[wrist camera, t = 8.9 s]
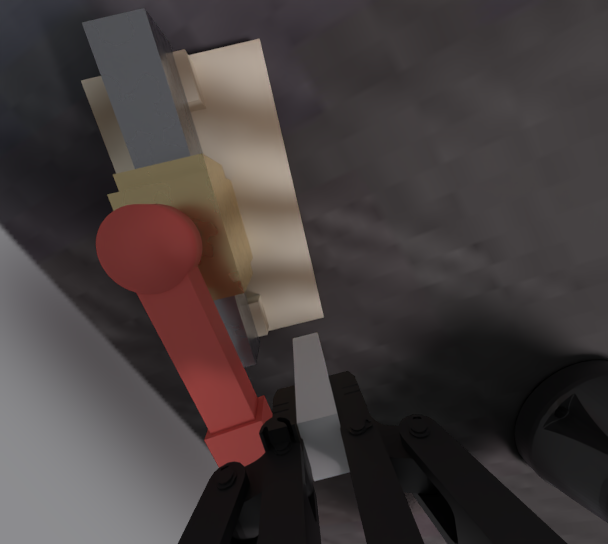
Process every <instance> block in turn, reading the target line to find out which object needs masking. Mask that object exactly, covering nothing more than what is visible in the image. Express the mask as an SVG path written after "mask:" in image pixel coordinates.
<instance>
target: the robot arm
mask: <svg viewBox="0 0 608 544" xmlns="http://www.w3.org/2000/svg"><path fill="white" fill-rule="evenodd" d="M293 355H294V375H295V385H294V386H290V387H286V388H282V389H278V391H277V392H276V394H275V396H274V398H273V414H272V418H270V419H269V420H267V421H266V422H265V423H264V424H263V425H262V427H261V429H260V432H259V435H260V438H261V441H262V444H263V447H264V450H265V453H264V454H263V455H262V456H261V457H260V458H259V459H257V460H256V461H254V462H252V463H251V464H249V465H247V466H245V467H244V466H243V465H242V464H241V463H240V462H235V461H234V462H229V463H226V464H224V465H223V466H221V467H220V468H219V469H218V470H217V471H215V472H214V474H213V475H212V476H211V478H210V479H209V482H208V484H207V486H206V488H205V490H204V492H203V494H202V496H201V498H200V500H199V502H198V504H197V506H196V508H195V510H194V512H193V514H192V516H191V518H190V520H189V522H188V524H187V526H186V528H185V530H184V532H183V534H182V536H181V538H180V540H179V543H178V544H321V536H320V526H319V517H318V508H317V498H316V494H315V490H314V487H313V479H314V481H318V480H321V479H325V478H329V477H333V476H337V475H341V474H345V473H349V472H350V474H351V478H352V482H353V487H354V491H355V495H356V499H357V504H358V508H359V512H360V516H361V521H362V525H363V529H364V533H365V538H366V542H367V544H424V542H423V539H422V537H421V534H420V532H419V529H418V527H417V525H416V522H415V520H414V517H413V515H412V512H411V510H410V507H409V505H408V502H407V500H406V497H405V495H404V492H408V493H412V494H413V496H414V497H415V499H416V500H417V501H418V503H419V504H420V506H421V507H422V508H423V510H424V511H425V513H426V514H427V515H428V517H429V518H430V520H431V521H432V522H433V524H434V525H435V527H436V528H437V530H438V531H439V532H440V534H441V535H442V537H443V538H444V539H445V541H446V542H447V544H567V543H566V542H565V541H564V540H563V539H562V538H561V537H560V536H559V535H557V534H556V533H555V532H554V531H553V530H552V529H551V528H550V527H549V526H548V525H547V524H546V523H544V522H543V521H542V520H541V519H540V518H539V517H538V516H537V515H536V514H535V513H534V512H533V511H531V510H530V509H529V508H528V507H527V506H526V505H525V504H524V503H523V502H522V501H521V500H520V499H518V498H517V497H516V496H515V495H514V494H513V493H512V492H511V491H510V490H509V489H508V488H507V487H505V486H504V485H503V484H502V483H501V482H500V481H499V480H498V479H497V478H496V477H495V476H494V475H493V474H491V473H490V472H489V471H488V470H487V469H486V468H485V467H484V466H483V465H482V464H481V463H480V462H478V461H477V460H476V459H475V458H474V457H473V456H472V455H471V454H470V453H469V452H468V451H467V450H465V449H464V448H463V447H462V446H461V445H460V444H459V443H458V442H457V441H456V440H455V439H454V438H452V437H451V436H450V435H449V434H448V433H447V432H446V431H445V430H444V429H443V428H442V427H441V426H439V425H438V424H437V423H436V422H435V421H434V420H432V419H431V418H429V417H427V416H424V415H410V416H407V417H405V418H404V419H403V420H402V421H401V423H400V425H399V426H389V425H383V424H380V423H378V422H377V421H375V420H374V419H373V418H372V417H371V415H370V413H369V411H368V408H367V406H366V403H365V401H364V398H363V396H362V393H361V391H360V388H359V386H358V383H357V381H356V378H355V376H354V375H352V374H351V373H350V372H349V371H346V372H342V373H339V374H335V375H331V376H328V372H327V368H326V364H325V360H324V356H323V352H322V348H321V344H320V340H319V336H318V333H317V332H316V333H312V334H308V335H305V336H301V337H297V338H293ZM515 443H516V446H517V449H518V452H519V453H520V455H521V457H522V458H523V459H524V460H525V461H526V462H527V463H528V465H529V466H530V467H531V468H532V469H533V470H534V471H535V472H536V473H537V474H538V475H539V476H540V477H541V478H542V479H543V480H544V481H546V482H547V483H548V484H550V485H552V486H554V487H556V488H557V489H559V490H560V491H562V492H563V493H565V494H566V495H567V496H569V497H570V498H572V499H573V500H575V501H576V502H577V503H579V504H580V505H582V506H583V507H585V508H586V509H588V510H589V511H591V512H592V513H594V514H595V515H597V516H598V517H600V518H601V519H603V520H604V521H606V522H607V523H608V361H605V360H593V361H585V362H581V363H577V364H574V365H571V366H568V367H566V368H564V369H562V370H560V371H558V372H556V373H555V374H553V375H551V376H550V377H549V378H547V379H546V380H545V381H543V382H542V383H541V384H540V385H539V386H538V387H537V388H536V389H535V390H534V391H533V392H532V393H531V394H530V396H529V397H528V398H527V400H526V401H525V403H524V404H523V406H522V408H521V410H520V412H519V415H518V418H517V421H516V425H515ZM312 476H313V479H312Z"/></svg>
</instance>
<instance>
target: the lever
mask: <svg viewBox="0 0 608 544" xmlns="http://www.w3.org/2000/svg"><path fill="white" fill-rule="evenodd" d="M96 251H97V256H98V259H99V261H100V263H101V266H102V267H103V269H104V270H105V272H106V273H107V274H108V276H109V277H110V278H111V279H112V280H113V281H115V282H116V283H117V284H118V285H120V286H122V287H123V288H125V289H127V290H130V291H133V292H136V293H137V295H138V297H139V299H140V301H141V303H142V305H143V306H144V308H145V310H146V312H147V314H148V316H149V318H150V320H151V322H152V324H153V325H154V327H155V329H156V331H157V333H158V335H159V337H160V339H161V341H162V342H163V344H164V346H165V348H166V350H167V352H168V354H169V356H170V358H171V360H172V361H173V363H174V365H175V367H176V369H177V371H178V373H179V375H180V377H181V378H182V380H183V382H184V384H185V386H186V388H187V390H188V392H189V394H190V395H191V397H192V399H193V401H194V403H195V405H196V407H197V409H198V411H199V413H200V414H201V416H202V418H203V420H204V422H205V424H206V426H207V428H208V430H207V433H206V436H205V439H204V441H205V443H206V445H207V446H208V448H209V450H210V452H211V454H212V456H213V457H214V459H215V461H216V463H217V465H218V467H219V468H220V467H221V466H223V465H224V464H226V463H229V462H234V461H235V462H240V463H241V464H242V465H243V466H247V465H249V464H251V463H252V462H254V461H256V460H257V459H259V458H260V457H261V456H262V455H263V454H264V453H265V450H264V447H263V444H262V441H261V438H260V435H259V432H260V429H261V427H262V425H263V424H264V423H265V422H266V421H267V420H269V419H270V418H272V412H271V409H270V407H269V405H268V403H267V401H266V398H265V396H264V395H263V396H261V397H258V398H257V396H256V393H255V391H254V389H253V387H252V385H251V382H250V380H249V378H248V376H247V374H246V371H245V369H244V367H243V365H242V363H241V360H240V358H239V356H238V354H237V352H236V349H235V347H234V345H233V343H232V341H231V338H230V336H229V334H228V332H227V330H226V327H225V325H224V323H223V321H222V319H221V316H220V314H219V312H218V310H217V308H216V305H215V303H214V301H213V299H212V297H211V294H210V292H209V290H208V288H207V286H206V283H205V281H204V279H203V277H202V275H201V273H200V270H199V268H198V264H199V262H200V260H201V256H202V239H201V236H200V233H199V231H198V229H197V227H196V225H195V224H194V222H193V221H192V220H191V219H190V218H189V217H188V216H187V215H186V214H184V213H183V212H182V211H180V210H178V209H176V208H174V207H171V206H168V205H163V204H132V205H126V206H123V207H120V208H118V209H116V210H114V211H113V212H111V213H110V214H109V215H108V216H107V217H106V218H105V219H104V220H103V222H102V223H101V225H100V227H99V229H98V232H97V236H96Z"/></svg>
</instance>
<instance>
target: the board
mask: <svg viewBox="0 0 608 544" xmlns="http://www.w3.org/2000/svg"><path fill="white" fill-rule="evenodd" d="M173 55H174V59H175V62H176V65H177V68H178V72H179V75H180V78H181V82H182V85H183V88H184V92H185V95H186V98H187V102H188V105H189V108H190V112H191V115H192V118H193V122H194V125H195V128H196V132H197V135H198V138H199V141H200V145H201V148H202V151H203V154H204V155H206V156H208V157H209V158H211V159H213V160H214V161H216V162H218V163H219V164H221V165H222V167H223V170H224V174H225V177H226V179H229V180H231V182H232V185H233V189H234V192H235V196H236V199H237V203H238V206H239V210H240V214H241V217H242V221H243V224H244V228H245V231H246V235H247V238H248V242H249V245H250V249H251V252H252V256H253V259H252V261H251V263H250V264H251V267H252V271H253V275H252V277H251V279H250V282H249V284H248V286H247V288H246V291H245V294H246V297H247V301H248V304H249V307H250V311H251V314H252V317H253V321H254V324H255V327H256V331H257V334H258V337H260V336H264V335H268V331H270V330H274V329H278V328H282V327H286V326H290V325H295V324H299V323H303V322H307V321H311V320H315V319H319V318H323V317H324V316H323V311H322V307H321V303H320V298H319V294H318V290H317V285H316V281H315V277H314V272H313V268H312V264H311V259H310V255H309V251H308V246H307V242H306V238H305V233H304V229H303V225H302V220H301V216H300V212H299V207H298V203H297V199H296V194H295V190H294V186H293V181H292V177H291V173H290V168H289V164H288V160H287V155H286V151H285V147H284V142H283V138H282V134H281V130H280V125H279V121H278V117H277V112H276V108H275V104H274V99H273V95H272V91H271V86H270V82H269V78H268V73H267V69H266V65H265V60H264V56H263V52H262V47H261V43H260V39H256V40H251V41H247V42H243V43H239V44H234V45H230V46H226V47H222V48H217V49H213V50H209V51H205V52H200V53H196V54H192V55H188V54H187V52H186V51H185V49H184V50H179V51H175V52H173ZM81 83H82V85H83V88H84V91H85V93H86V96H87V98H88V101H89V104H90V106H91V109H92V112H93V114H94V117H95V119H96V122H97V125H98V127H99V130H100V132H101V135H102V138H103V140H104V143H105V146H106V148H107V151H108V153H109V156H110V159H111V161H112V164H113V167H114V169H115V172H116V174H117V173H121V172H126V171H130V170H134V169H135V168H134V165H133V162H132V159H131V157H130V154H129V151H128V149H127V146H126V143H125V140H124V138H123V135H122V132H121V129H120V127H119V124H118V121H117V118H116V116H115V113H114V110H113V107H112V105H111V102H110V99H109V96H108V94H107V91H106V88H105V85H104V83H103V80H102V77H101V76H98V77H94V78H89V79H85V80H81Z"/></svg>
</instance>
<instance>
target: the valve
mask: <svg viewBox="0 0 608 544" xmlns="http://www.w3.org/2000/svg"><path fill="white" fill-rule="evenodd" d="M82 25H83V28H84V30H85V33H86V36H87V39H88V41H89V44H90V47H91V50H92V52H93V55H94V58H95V61H96V63H97V66H98V69H99V72H100V74H101V77H102V80H103V83H104V85H105V88H106V91H107V94H108V96H109V99H110V102H111V105H112V107H113V110H114V113H115V116H116V118H117V121H118V124H119V127H120V129H121V132H122V135H123V138H124V140H125V143H126V146H127V149H128V151H129V154H130V157H131V159H132V162H133V165H134V168H135V169H134V170H130V171H126V172H121V173H117V174H113V177H114V180H115V182H116V185H117V187H118V190H119V192H116V193H112V194H108V195H107V196H108V198H109V201H110V203H111V206H112V208H113V211H114V210H116V209H118V208H120V207H123V206H126V205H132V204H163V205H168V206H171V207H174V208H176V209H178V210H180V211H182V212H183V213H184V214H186V215H187V216H188V217H189V218H190V219H191V220H192V221H193V222H194V224H195V225H196V227H197V229H198V231H199V233H200V236H201V239H202V256H201V260H200V262H199V264H198V268H199V270H200V273H201V275H202V277H203V279H204V281H205V283H206V286H207V288H208V290H209V292H210V294H211V297H212V299H213V301H214V303H215V305H216V308H217V310H218V312H219V314H220V316H221V319H222V321H223V323H224V325H225V327H226V330H227V332H228V334H229V336H230V338H231V341H232V343H233V345H234V347H235V349H236V352H237V354H238V356H239V358H240V360H241V363H242V365H243V367H244V368H245V367H249V366H253V365H256V362H257V356H258V350H259V345H260V341H259V337H258V334H257V331H256V327H255V324H254V321H253V317H252V314H251V311H250V307H249V304H248V301H247V297H246V294H245V291H246V288H247V286H248V284H249V282H250V279H251V277H252V275H253V271H252V267H251V264H250V263H251V261H252V259H253V256H252V252H251V249H250V245H249V242H248V238H247V235H246V231H245V228H244V224H243V221H242V217H241V214H240V210H239V206H238V203H237V199H236V196H235V192H234V189H233V185H232V182H231V180H229V179H226V177H225V174H224V170H223V167H222V165H221V164H219V163H218V162H216V161H214V160H213V159H211V158H209V157H208V156H206V155H204V154H203V151H202V148H201V145H200V141H199V138H198V135H197V132H196V128H195V125H194V122H193V118H192V115H191V112H190V108H189V105H188V102H187V98H186V95H185V92H184V88H183V85H182V82H181V78H180V75H179V72H178V68H177V65H176V62H175V59H174V55H173V52H172V49H171V45H170V43H169V41H168V40H167V39H166V37H165V36H164V34H163V33H162V32H161V30H160V29H159V27H158V26H157V25H156V23H155V22H154V21H153V19H152V18H151V16H150V15H149V14H148V12H147V11H146V9H145V8H142V9H138V10H133V11H129V12H125V13H121V14H116V15H112V16H108V17H103V18H99V19H95V20H90V21H86V22H82Z"/></svg>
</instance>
